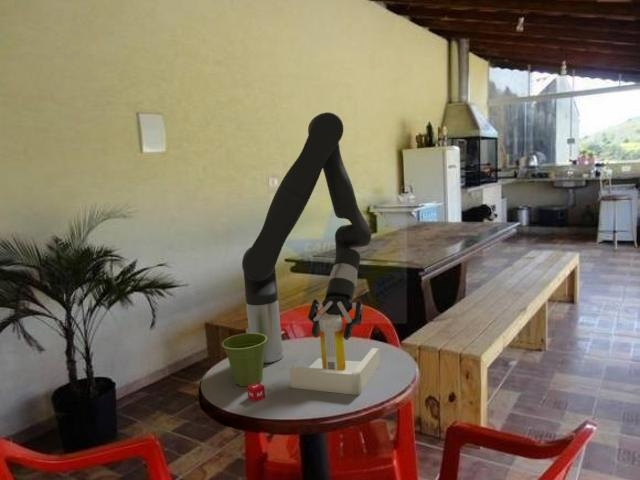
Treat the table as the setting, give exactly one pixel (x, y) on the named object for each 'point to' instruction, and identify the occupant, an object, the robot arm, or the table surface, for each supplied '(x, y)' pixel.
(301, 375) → the white corner tray
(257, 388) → the dice
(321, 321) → the beer can
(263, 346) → the plant pot
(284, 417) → the table surface
